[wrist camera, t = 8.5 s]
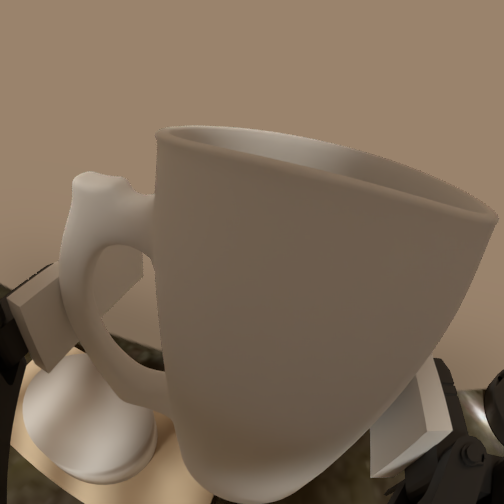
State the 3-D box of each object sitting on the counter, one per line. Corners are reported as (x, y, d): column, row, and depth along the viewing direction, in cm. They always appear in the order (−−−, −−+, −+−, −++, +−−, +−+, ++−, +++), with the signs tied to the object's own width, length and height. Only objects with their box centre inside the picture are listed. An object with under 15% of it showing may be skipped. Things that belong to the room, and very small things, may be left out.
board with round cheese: (239, 423, 23) (247, 392, 21) (190, 552, 11) (186, 552, 8) (59, 345, 26) (46, 308, 24) (-11, 422, 14) (-38, 389, 12)
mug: (317, 394, 14) (406, 163, 8) (327, 509, 8) (561, 253, 2) (130, 365, 14) (111, 119, 8) (87, 471, 8) (-61, 160, 2)
